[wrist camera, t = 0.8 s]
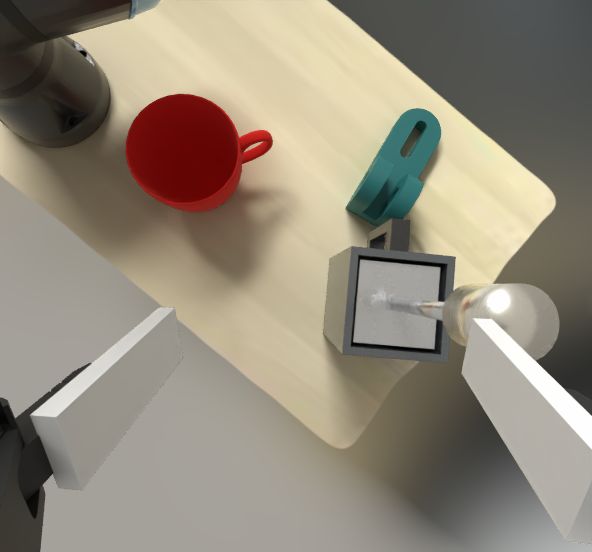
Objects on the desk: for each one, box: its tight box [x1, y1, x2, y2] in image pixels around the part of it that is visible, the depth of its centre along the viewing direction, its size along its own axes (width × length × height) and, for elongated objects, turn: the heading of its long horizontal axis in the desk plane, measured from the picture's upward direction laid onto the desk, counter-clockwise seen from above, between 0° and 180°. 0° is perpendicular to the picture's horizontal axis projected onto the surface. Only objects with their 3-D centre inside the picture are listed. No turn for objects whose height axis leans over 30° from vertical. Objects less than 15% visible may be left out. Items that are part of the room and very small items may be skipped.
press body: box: [323, 218, 456, 363], centre depth 39 cm, size 15×11×14 cm
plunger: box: [352, 260, 559, 360], centre depth 24 cm, size 9×9×17 cm
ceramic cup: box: [126, 94, 273, 212], centre depth 40 cm, size 13×17×10 cm
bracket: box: [346, 108, 441, 227], centre depth 43 cm, size 18×7×8 cm, turn 150°
